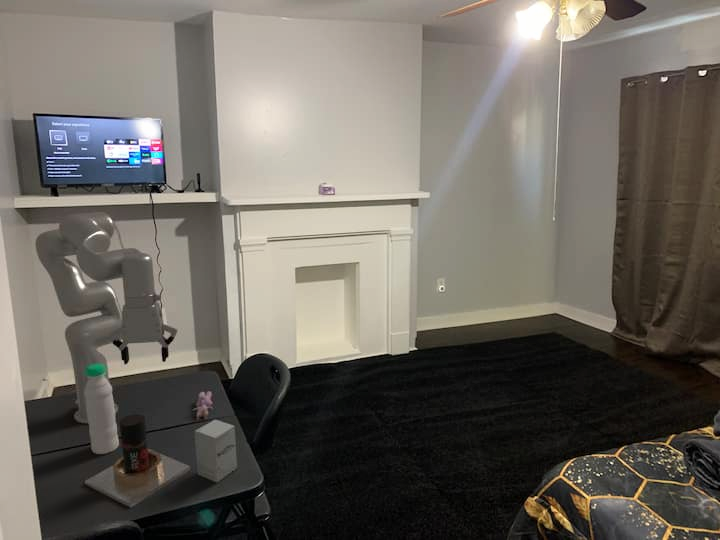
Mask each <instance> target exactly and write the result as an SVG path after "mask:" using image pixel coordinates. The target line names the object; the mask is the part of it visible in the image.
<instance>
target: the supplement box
mask: <svg viewBox="0 0 720 540" xmlns="http://www.w3.org/2000/svg"><path fill="white" fill-rule="evenodd" d="M235 432H236V430H235V425H233V424H230V423H227V422H223V421H221V420H217V419H213V420H211V421H210V422H208V423H207V424H204V425H203V426H201V427H199V428H197V429H196V430H194V443H195V454H196V455H195V457H196V467H197V469H196V470H197V475H198V476H201V477H203V478H205V479H208V480H210V481H212V482H215V483H219V482H220V481H222V479H224V478H225V477H227V476H228V475H230V474H231V473H232V471H233V472H234V471H236V470H237V469H238V461H237V446H236V433H235ZM236 468H237V469H236ZM235 469H236V470H235Z"/></svg>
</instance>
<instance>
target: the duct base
mask: <svg viewBox="0 0 720 540" xmlns="http://www.w3.org/2000/svg"><path fill="white" fill-rule="evenodd" d="M148 454H149V463H150V468H149V469H147V470H146V471H143V472H139V473H135V474H125V466H124V457H123V456H122V457H121V458H119V459H117V460H116V461H115V463H114V464H113V465H111V466H109V467H107V468H105V469H104V470H102V471H101V472H98V473H97V474H95V475H94V476H92V477H90V478H88V479H85V481H84V483H85V486H86V485H87V486H88V487H90V488H91V489H94V490H96V491H98V492H99V493H101V494H103V495H105V496H108V497H109V498H111V499H113V500H115V501H117V502H118V503H121V504H122V505H124V506H127V507H128V508H132V507H135V506H136V505H138V504H139V503H141V502H142V501H144V500H145V499H147V498H149V497H151V496H152V495H153V494H155V493H157V492H158V491H160V490H161V489H162V488H165V486H167V485H169V484H170V483H172V482H174V481H175V480H177V479H178V478H180V477H182V476H183V475H184V474H186V473H188V472H189V471H190V470H191V466H190V465H188V464H187V463H186V464H185V463H183V462H180V461H178V460H176V459H174V458H172V457H170V456H166V455H164V454H162V453H159V452H157V451H155V450H153V449H149V448H148Z"/></svg>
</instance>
